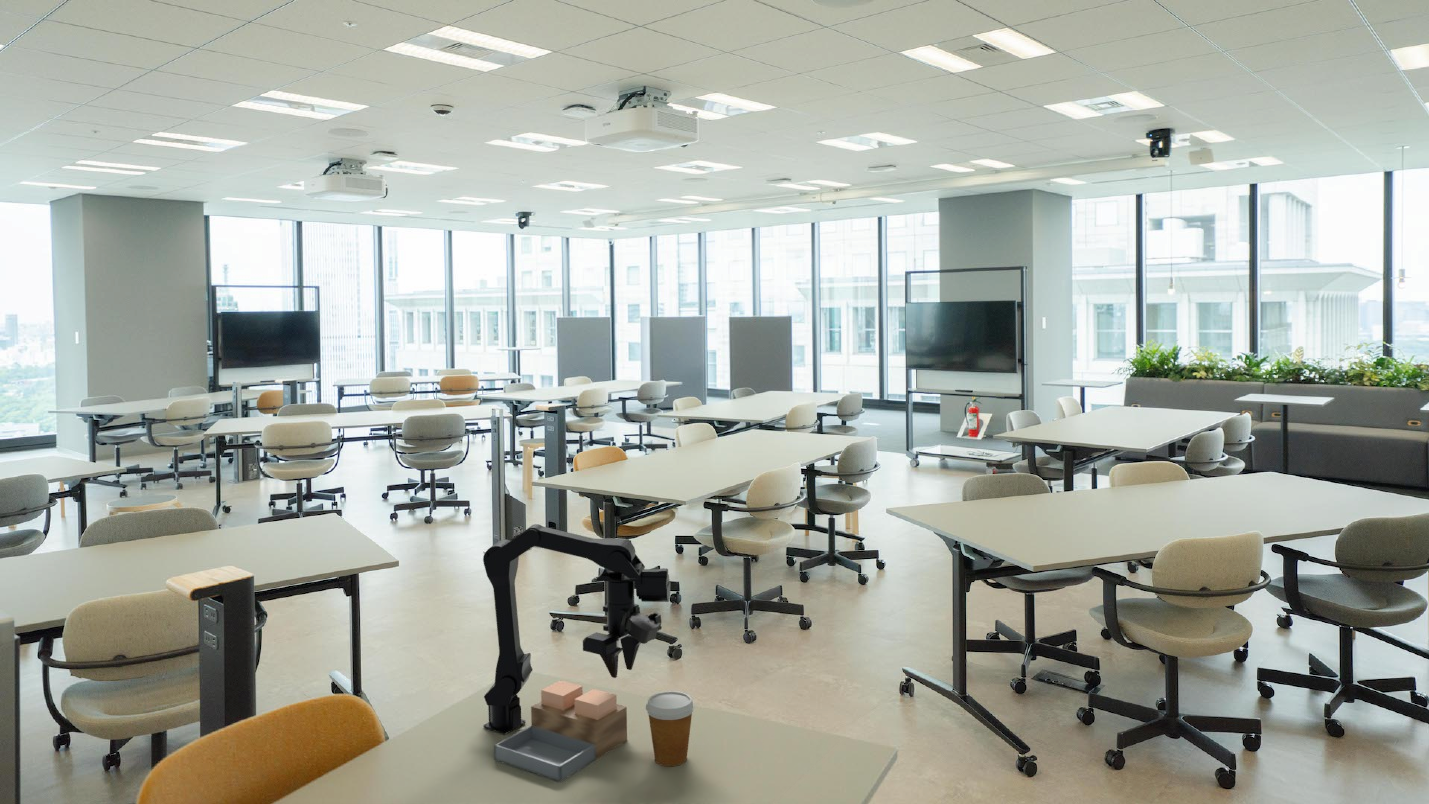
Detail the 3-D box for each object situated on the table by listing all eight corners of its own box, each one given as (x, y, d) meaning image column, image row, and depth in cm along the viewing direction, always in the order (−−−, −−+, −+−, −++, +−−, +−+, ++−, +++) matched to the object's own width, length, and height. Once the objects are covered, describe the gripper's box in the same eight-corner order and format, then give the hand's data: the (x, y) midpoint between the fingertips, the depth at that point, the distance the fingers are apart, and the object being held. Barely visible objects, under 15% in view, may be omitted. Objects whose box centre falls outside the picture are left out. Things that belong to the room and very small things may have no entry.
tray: (494, 760, 178) (494, 745, 178) (531, 739, 187) (531, 725, 187) (560, 782, 169) (559, 766, 169) (596, 759, 178) (595, 744, 178)
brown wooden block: (531, 739, 187) (531, 706, 186) (564, 721, 195) (563, 690, 195) (596, 759, 178) (595, 725, 177) (627, 739, 186) (626, 706, 186)
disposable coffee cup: (688, 772, 172) (688, 711, 171) (640, 768, 174) (639, 707, 173) (699, 750, 182) (699, 692, 181) (653, 746, 183) (653, 688, 182)
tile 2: (574, 713, 183) (574, 699, 182) (593, 703, 188) (593, 689, 188) (597, 720, 180) (597, 705, 179) (616, 709, 185) (616, 694, 184)
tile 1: (541, 704, 187) (541, 690, 187) (560, 694, 193) (560, 680, 192) (563, 710, 184) (563, 696, 184) (582, 700, 189) (582, 686, 189)
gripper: (623, 619, 177) (625, 696, 178) (677, 595, 193) (678, 666, 194) (580, 610, 183) (581, 685, 184) (635, 587, 199) (636, 657, 200)
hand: (621, 673), depth 191 cm, fingers open, 5 cm apart
